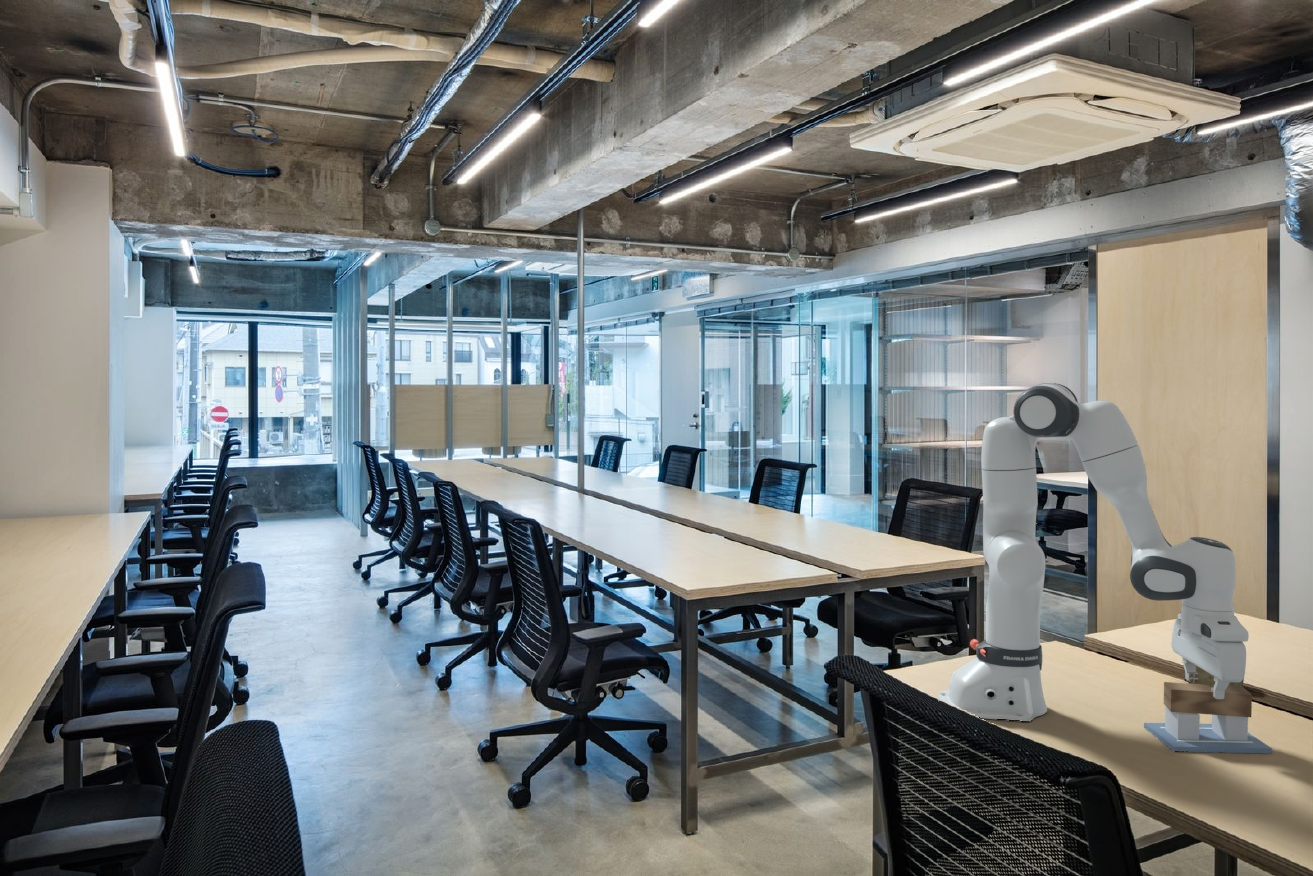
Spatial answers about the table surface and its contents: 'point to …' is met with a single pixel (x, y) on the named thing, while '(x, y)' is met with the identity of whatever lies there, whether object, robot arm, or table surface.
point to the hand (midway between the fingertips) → (1204, 689)
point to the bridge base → (1206, 734)
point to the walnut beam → (1207, 700)
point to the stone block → (1210, 678)
